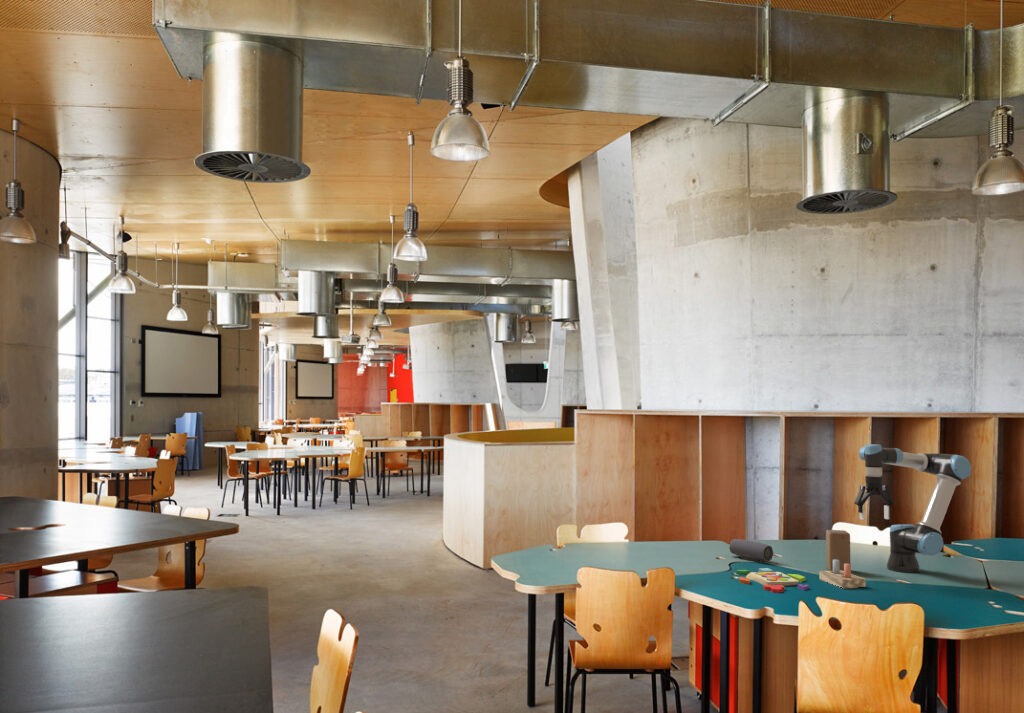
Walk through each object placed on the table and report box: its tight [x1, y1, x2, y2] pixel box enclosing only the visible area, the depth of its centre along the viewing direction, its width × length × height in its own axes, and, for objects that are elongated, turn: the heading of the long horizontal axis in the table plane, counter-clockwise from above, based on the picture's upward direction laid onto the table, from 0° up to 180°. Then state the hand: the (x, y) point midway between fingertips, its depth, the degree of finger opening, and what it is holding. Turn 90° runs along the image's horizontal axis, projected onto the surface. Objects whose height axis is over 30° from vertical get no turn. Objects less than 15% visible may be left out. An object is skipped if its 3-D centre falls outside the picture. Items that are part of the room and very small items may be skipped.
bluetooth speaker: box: [728, 538, 774, 562], centre depth 413 cm, size 23×9×10 cm, turn 34°
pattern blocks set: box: [735, 567, 810, 594], centre depth 363 cm, size 38×34×3 cm
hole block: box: [818, 570, 867, 589], centre depth 360 cm, size 12×18×4 cm, turn 11°
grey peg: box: [833, 560, 840, 574], centre depth 364 cm, size 3×3×10 cm
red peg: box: [844, 563, 852, 578], centre depth 355 cm, size 3×3×10 cm
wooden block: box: [825, 529, 851, 571], centre depth 388 cm, size 10×10×20 cm
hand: (874, 519), depth 372 cm, fingers open, 13 cm apart
